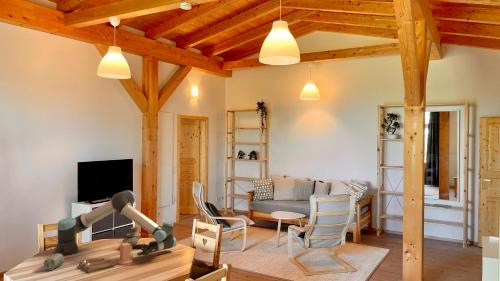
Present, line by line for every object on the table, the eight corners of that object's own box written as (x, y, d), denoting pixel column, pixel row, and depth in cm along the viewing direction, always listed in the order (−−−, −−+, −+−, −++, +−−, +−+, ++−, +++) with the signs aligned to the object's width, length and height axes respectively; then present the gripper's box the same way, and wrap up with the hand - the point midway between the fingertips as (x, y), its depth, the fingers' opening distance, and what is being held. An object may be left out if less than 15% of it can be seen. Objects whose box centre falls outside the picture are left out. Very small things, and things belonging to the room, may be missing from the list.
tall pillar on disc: (115, 262, 240) (115, 243, 240) (128, 259, 246) (128, 241, 246) (121, 266, 234) (122, 246, 233) (134, 262, 240) (134, 244, 240)
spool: (54, 267, 220) (51, 251, 223) (41, 273, 221) (38, 257, 224) (70, 265, 233) (66, 250, 236) (57, 271, 234) (53, 256, 237)
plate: (78, 266, 231) (78, 264, 231) (103, 260, 243) (103, 258, 243) (88, 273, 220) (88, 271, 220) (113, 267, 231) (113, 264, 231)
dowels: (81, 265, 229) (81, 260, 229) (85, 264, 230) (85, 260, 230) (86, 269, 223) (86, 264, 223) (90, 268, 225) (90, 263, 225)
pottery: (142, 240, 290) (142, 226, 290) (136, 250, 265) (137, 234, 265) (127, 241, 288) (128, 226, 288) (120, 251, 263) (121, 234, 263)
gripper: (165, 255, 247) (136, 263, 232) (146, 247, 264) (119, 253, 249) (165, 244, 247) (137, 251, 232) (146, 237, 264) (119, 242, 249)
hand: (127, 252), depth 240 cm, fingers open, 13 cm apart
